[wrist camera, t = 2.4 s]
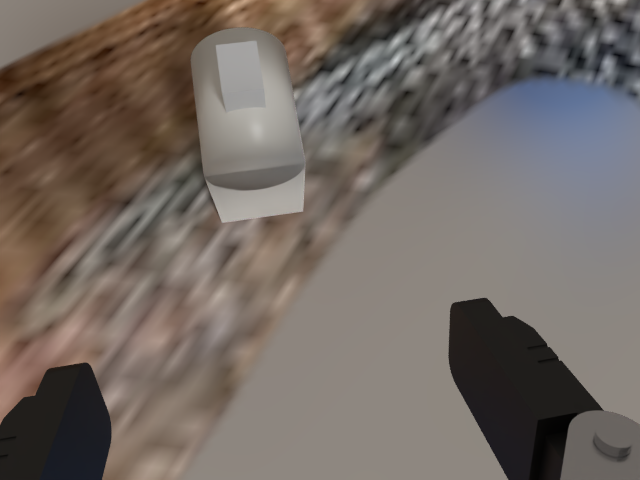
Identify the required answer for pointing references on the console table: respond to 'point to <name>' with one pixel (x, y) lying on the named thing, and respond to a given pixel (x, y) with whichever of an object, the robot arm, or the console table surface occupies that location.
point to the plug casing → (248, 124)
